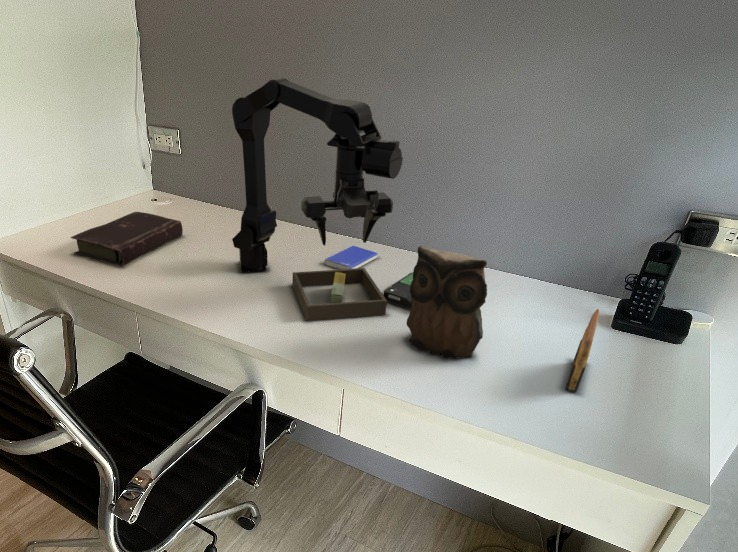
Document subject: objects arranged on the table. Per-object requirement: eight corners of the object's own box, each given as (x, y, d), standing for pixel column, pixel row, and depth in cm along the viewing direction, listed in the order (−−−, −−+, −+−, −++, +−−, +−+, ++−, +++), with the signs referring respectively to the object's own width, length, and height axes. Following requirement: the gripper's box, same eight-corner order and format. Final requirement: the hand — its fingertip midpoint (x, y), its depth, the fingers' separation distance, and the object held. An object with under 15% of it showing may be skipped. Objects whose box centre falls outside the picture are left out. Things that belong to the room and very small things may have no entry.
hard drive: (350, 267, 142) (378, 252, 149) (324, 258, 146) (352, 244, 154) (350, 273, 143) (377, 258, 150) (324, 264, 147) (351, 250, 155)
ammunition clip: (573, 361, 109) (593, 305, 102) (583, 364, 108) (604, 308, 101) (564, 389, 101) (585, 331, 95) (576, 392, 101) (598, 334, 94)
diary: (184, 237, 163) (182, 220, 160) (124, 268, 145) (121, 249, 142) (134, 226, 171) (132, 209, 168) (72, 254, 153) (68, 236, 150)
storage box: (306, 321, 122) (307, 306, 120) (292, 285, 137) (292, 272, 135) (385, 315, 124) (387, 300, 122) (363, 281, 139) (364, 267, 137)
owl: (479, 360, 109) (503, 263, 98) (415, 364, 108) (431, 266, 97) (456, 328, 120) (475, 236, 108) (397, 331, 119) (410, 239, 107)
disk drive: (423, 315, 125) (452, 290, 134) (425, 303, 123) (454, 280, 132) (381, 301, 130) (412, 279, 139) (383, 290, 128) (413, 268, 138)
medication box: (339, 312, 126) (343, 296, 123) (327, 310, 126) (330, 294, 123) (343, 287, 135) (346, 272, 133) (331, 286, 135) (334, 270, 133)
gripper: (314, 184, 109) (311, 260, 118) (406, 179, 112) (396, 254, 121) (301, 169, 118) (300, 241, 127) (387, 164, 121) (380, 235, 130)
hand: (344, 243), depth 126 cm, fingers open, 9 cm apart
